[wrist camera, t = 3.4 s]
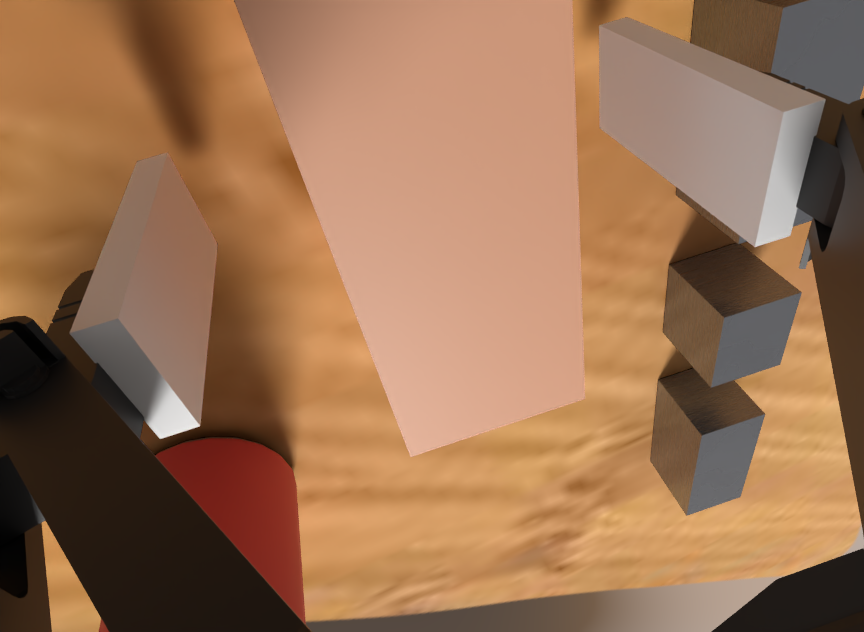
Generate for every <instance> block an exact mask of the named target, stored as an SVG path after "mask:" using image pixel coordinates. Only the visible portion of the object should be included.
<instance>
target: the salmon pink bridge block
mask: <svg viewBox="0 0 864 632" xmlns="http://www.w3.org/2000/svg"><path fill="white" fill-rule="evenodd" d="M234 2H235V4H236V7H237V9H238V12H239V14H240V17H241V20H242V22H243V25H244V27H245V30H246V33H247V35H248V38H249V40H250V43H251V46H252V48H253V51H254V53H255V56H256V58H257V61H258V64H259V66H260V69H261V71H262V74H263V77H264V79H265V82H266V84H267V87H268V89H269V92H270V95H271V97H272V100H273V102H274V105H275V108H276V110H277V113H278V115H279V118H280V120H281V123H282V126H283V128H284V131H285V133H286V136H287V139H288V141H289V144H290V146H291V149H292V152H293V154H294V157H295V159H296V162H297V164H298V167H299V170H300V172H301V175H302V177H303V180H304V183H305V185H306V188H307V190H308V193H309V195H310V198H311V201H312V203H313V206H314V208H315V211H316V214H317V216H318V219H319V221H320V224H321V226H322V229H323V232H324V234H325V237H326V239H327V242H328V245H329V247H330V250H331V252H332V255H333V258H334V260H335V263H336V265H337V268H338V270H339V273H340V276H341V278H342V281H343V283H344V286H345V289H346V291H347V294H348V296H349V299H350V301H351V304H352V307H353V309H354V312H355V314H356V317H357V320H358V322H359V325H360V327H361V330H362V333H363V335H364V338H365V340H366V343H367V345H368V348H369V351H370V353H371V356H372V358H373V361H374V364H375V366H376V369H377V371H378V374H379V376H380V379H381V382H382V384H383V387H384V389H385V392H386V395H387V397H388V400H389V402H390V405H391V407H392V410H393V413H394V415H395V418H396V420H397V423H398V426H399V428H400V431H401V433H402V436H403V439H404V441H405V444H406V446H407V449H408V451H409V454H410V457H412V456H415V455H418V454H421V453H424V452H427V451H430V450H433V449H436V448H439V447H442V446H445V445H448V444H451V443H454V442H457V441H460V440H463V439H466V438H469V437H472V436H475V435H478V434H481V433H484V432H487V431H490V430H493V429H496V428H499V427H502V426H505V425H508V424H511V423H514V422H517V421H520V420H523V419H526V418H529V417H532V416H535V415H538V414H541V413H544V412H547V411H550V410H553V409H556V408H559V407H562V406H565V405H568V404H571V403H574V402H577V401H580V400H583V399H585V379H584V348H583V317H582V286H581V255H580V224H579V193H578V162H577V131H576V100H575V69H574V38H573V7H572V0H234Z"/></svg>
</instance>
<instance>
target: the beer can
mask: <svg viewBox="0 0 864 632" xmlns="http://www.w3.org/2000/svg"><path fill="white" fill-rule="evenodd" d="M155 456H156V457H157V458H158V459H159V461H160V462H161V463H162V464H163V465H164V466H165V467H166V468H167V470H168V471H169V472H170V473H171V474H172V475H173V476H174V477H175V478H176V480H177V481H178V482H179V483H180V484H181V485H182V486H183V487H184V489H185V490H186V491H187V492H188V493H189V494H190V495H191V496H192V498H193V499H194V500H195V501H196V502H197V503H198V504H199V505H200V507H201V508H202V509H203V510H204V511H205V512H206V513H207V514H208V516H209V517H210V518H211V519H212V520H213V521H214V522H215V523H216V524H217V526H218V527H219V528H220V529H221V530H222V531H223V532H224V533H225V535H226V536H227V537H228V538H229V539H230V540H231V541H232V542H233V544H234V545H235V546H236V547H237V548H238V549H239V550H240V551H241V553H242V554H243V555H244V556H245V557H246V558H247V559H248V560H249V562H250V563H251V564H252V565H253V566H254V567H255V568H256V569H257V570H258V572H259V573H260V574H261V575H262V576H263V577H264V578H265V579H266V581H267V582H268V583H269V584H270V585H271V586H272V587H273V588H274V590H275V591H276V592H277V593H278V594H279V595H280V596H281V597H282V599H283V600H284V601H285V602H286V603H287V604H288V605H289V606H290V608H291V609H292V610H293V611H294V612H295V613H296V614H297V615H298V616H299V618H300V619H301V620H302V621H303V622H304V623H305V609H304V594H303V578H302V563H301V548H300V533H299V518H298V503H297V488H296V482H295V477H294V473H293V470H292V469H291V467H290V466H289V465H288V464H287V463H286V461H285V460H284V459H283V458H282V457H281V456H280V454H278V453H276V452H274V451H273V450H271V449H269V448H267V447H265V446H263V445H262V444H260V443H257V442H252V441H248V440H244V439H240V438H231V437H208V438H202V439H196V440H191V441H185V442H183V443H180V444H178V445H175V446H173V447H170V448H168V449H165V450H163V451H161V452H159V453H158V454H157V455H155ZM99 632H109V631H108V629H107V627H106V625H105V624H104V622H103V620H102V618H101V623H100V628H99Z"/></svg>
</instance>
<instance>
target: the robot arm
mask: <svg viewBox="0 0 864 632" xmlns="http://www.w3.org/2000/svg"><path fill="white" fill-rule="evenodd" d="M599 106H600V129H602V130H603V131H604V132H606V133H607V134H608V135H609V136H611V137H612V138H613V139H615V140H616V141H617V142H619V143H620V144H621V145H622V146H624V147H625V148H626V149H628V150H629V151H630V152H632V153H633V154H634V155H635V156H637V157H638V158H639V159H641V160H642V161H643V162H645V163H646V164H647V165H648V166H650V167H651V168H652V169H654V170H655V171H656V172H658V173H659V174H660V175H661V176H663V177H664V178H665V179H667V180H668V181H669V182H671V183H672V184H673V185H674V186H676V187H677V188H678V189H680V190H681V191H682V192H684V193H685V194H686V195H687V196H689V197H690V198H691V199H693V200H694V201H695V202H697V203H698V204H699V205H701V206H702V207H703V208H704V209H706V210H707V211H708V212H710V213H711V214H712V215H714V216H715V217H716V218H717V219H719V220H720V221H721V222H723V223H724V224H725V225H727V226H728V227H729V228H730V229H732V230H733V231H734V232H736V233H737V234H738V235H740V236H741V237H742V238H743V239H745V240H746V241H747V242H749V243H750V244H751V245H753V246H754V247H757V246H760V245H763V244H766V243H769V242H772V241H776V240H779V239H782V238H785V237H788V236H790V235H791V231H792V227H793V223H794V220H795V216H796V212H797V208H799V209H800V210H802V211H803V212H805V213H806V214H808V215H810V216H811V217H813V219H812V223H811V226H810V230H809V233H808V237H807V240H806V244H805V247H804V251H803V254H802V258H801V261H800V266H799V269H806V265H807V262H808V261H810V260H811V259H812V262H813V267H814V272H815V278H816V283H817V288H818V294H819V299H820V304H821V310H822V315H823V320H824V326H825V331H826V336H827V342H828V347H829V352H830V358H831V363H832V368H833V374H834V379H835V384H836V390H837V395H838V400H839V406H840V411H841V416H842V422H843V427H844V432H845V438H846V443H847V448H848V454H849V459H850V464H851V470H852V475H853V480H854V486H855V491H856V496H857V502H858V507H859V512H860V518H861V523H862V528H863V535H864V98H863V99H860V100H857V101H853V102H851V103H850V104H847V103H844V102H842V101H839V100H837V99H834V98H832V97H829V96H827V95H824V94H822V93H820V92H817V91H815V90H812V89H810V88H809V89H805V86H802V85H800V84H797V83H795V82H793V83H791V82H790V80H788V79H785V78H783V77H780V76H778V75H775V74H773V73H768V72H762V71H756V70H754V69H752V68H749V67H747V66H744V65H742V64H740V63H737V62H735V61H732V60H730V59H727V58H725V57H723V56H720V55H718V54H715V53H713V52H711V51H708V50H706V49H703V48H701V47H698V46H696V45H694V44H691V43H689V42H686V41H684V40H682V39H679V38H677V37H674V36H672V35H669V34H667V33H665V32H662V31H660V30H657V29H655V28H653V27H650V26H648V25H645V24H643V23H640V22H638V21H636V20H633V19H631V18H628V17H625V18H622V19H619V20H615V21H612V22H608V23H605V24H602V25H599ZM217 248H218V244H217V242H216V240H215V238H214V236H213V235H212V233H211V231H210V229H209V227H208V225H207V224H206V222H205V220H204V218H203V216H202V214H201V213H200V211H199V209H198V207H197V205H196V203H195V201H194V200H193V198H192V196H191V194H190V192H189V190H188V189H187V187H186V185H185V183H184V181H183V179H182V177H181V176H180V174H179V172H178V170H177V168H176V166H175V165H174V163H173V161H172V159H171V157H170V155H169V154H168V152H167V153H164V154H160V155H157V156H153V157H150V158H147V159H143V160H140V161H137V163H136V165H135V168H134V170H133V173H132V175H131V178H130V181H129V183H128V186H127V188H126V191H125V193H124V196H123V198H122V201H121V203H120V206H119V208H118V211H117V214H116V216H115V219H114V221H113V224H112V226H111V229H110V231H109V234H108V236H107V239H106V241H105V244H104V247H103V249H102V252H101V254H100V257H99V259H98V262H97V264H96V267H95V269H94V270H91V271H87V272H84V273H81V274H80V275H79V276H78V278H77V279H76V280H75V281H74V282H73V283H72V284H71V285H70V286H69V287H68V288H67V289H66V290H65V292H64V295H63V297H62V299H61V301H60V304H59V306H58V308H59V310H56V313H55V315H54V317H53V319H52V321H53V323H52V324H50V326H49V329H48V331H47V333H45V332H44V331H43V330H42V329H41V328H40V327H39V326H38V325H37V323H36V322H35V321H34V320H33V319H31V318H28V317H26V316H16V317H9V318H6V319H3V320H0V632H52V629H51V618H50V608H49V597H48V587H47V577H46V566H45V556H44V545H43V535H42V524H41V522H43V521H45V520H46V522H47V524H48V526H49V527H50V529H51V531H52V533H53V534H54V536H55V538H56V540H57V541H58V543H59V545H60V547H61V548H62V550H63V552H64V554H65V555H66V557H67V559H68V561H69V562H70V564H71V566H72V568H73V569H74V571H75V573H76V575H77V576H78V578H79V580H80V582H81V583H82V585H83V587H84V589H85V590H86V592H87V594H88V596H89V597H90V599H91V601H92V603H93V604H94V606H95V608H96V610H97V611H98V613H99V615H100V617H101V618H102V620H103V622H104V624H105V625H106V627H107V629H108V631H109V632H312V631H311V630H310V629H309V628H308V627H307V625H306V624H305V623H304V622H303V621H302V620H301V619H300V618H299V616H298V615H297V614H296V613H295V612H294V611H293V610H292V609H291V608H290V606H289V605H288V604H287V603H286V602H285V601H284V600H283V599H282V597H281V596H280V595H279V594H278V593H277V592H276V591H275V590H274V588H273V587H272V586H271V585H270V584H269V583H268V582H267V581H266V579H265V578H264V577H263V576H262V575H261V574H260V573H259V572H258V570H257V569H256V568H255V567H254V566H253V565H252V564H251V563H250V562H249V560H248V559H247V558H246V557H245V556H244V555H243V554H242V553H241V551H240V550H239V549H238V548H237V547H236V546H235V545H234V544H233V542H232V541H231V540H230V539H229V538H228V537H227V536H226V535H225V533H224V532H223V531H222V530H221V529H220V528H219V527H218V526H217V524H216V523H215V522H214V521H213V520H212V519H211V518H210V517H209V516H208V514H207V513H206V512H205V511H204V510H203V509H202V508H201V507H200V505H199V504H198V503H197V502H196V501H195V500H194V499H193V498H192V496H191V495H190V494H189V493H188V492H187V491H186V490H185V489H184V487H183V486H182V485H181V484H180V483H179V482H178V481H177V480H176V478H175V477H174V476H173V475H172V474H171V473H170V472H169V471H168V470H167V468H166V467H165V466H164V465H163V464H162V463H161V462H160V461H159V459H158V458H157V457H156V456H155V455H154V454H153V453H152V452H151V450H150V449H149V448H148V447H147V446H146V445H145V444H144V443H143V442H142V440H141V439H140V436H141V431H142V426H143V421H145V422H146V423H147V424H148V425H149V427H150V428H151V429H152V430H153V431H154V432H155V434H156V435H157V436H158V437H159V438H160V439H162V438H165V437H168V436H172V435H175V434H178V433H181V432H184V431H187V430H190V429H193V428H196V427H199V426H200V424H201V414H202V404H203V393H204V383H205V372H206V362H207V352H208V341H209V331H210V321H211V310H212V300H213V289H214V279H215V269H216V258H217ZM712 632H864V549H860V550H857V551H855V552H852V553H849V554H846V555H843V556H841V557H838V558H835V559H832V560H829V561H827V562H824V563H821V564H818V565H816V566H813V567H810V568H807V569H804V570H802V571H799V572H796V573H793V574H790V575H788V576H785V577H782V578H779V579H777V580H775V581H774V582H773V583H772V584H770V585H769V586H768V587H767V588H766V589H764V590H763V591H762V592H760V593H759V594H758V595H757V596H756V597H754V598H753V599H752V600H751V601H749V602H748V603H747V604H746V605H744V606H743V607H742V608H741V609H739V610H738V611H737V612H736V613H734V614H733V615H732V616H731V617H729V618H728V619H727V620H726V621H724V622H723V623H722V624H721V625H720V626H718V627H717V628H716V629H714V630H713V631H712Z"/></svg>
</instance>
